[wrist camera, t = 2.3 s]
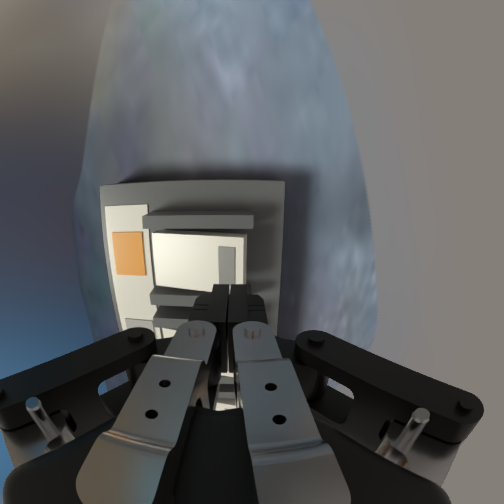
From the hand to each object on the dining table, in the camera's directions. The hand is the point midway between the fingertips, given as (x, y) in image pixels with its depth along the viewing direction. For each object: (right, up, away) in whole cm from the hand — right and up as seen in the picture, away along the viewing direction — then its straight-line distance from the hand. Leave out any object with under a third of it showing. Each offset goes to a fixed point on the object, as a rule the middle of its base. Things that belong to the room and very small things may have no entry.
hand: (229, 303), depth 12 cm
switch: (-2, +2, +5) cm, 5 cm away
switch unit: (-4, -4, +11) cm, 12 cm away
